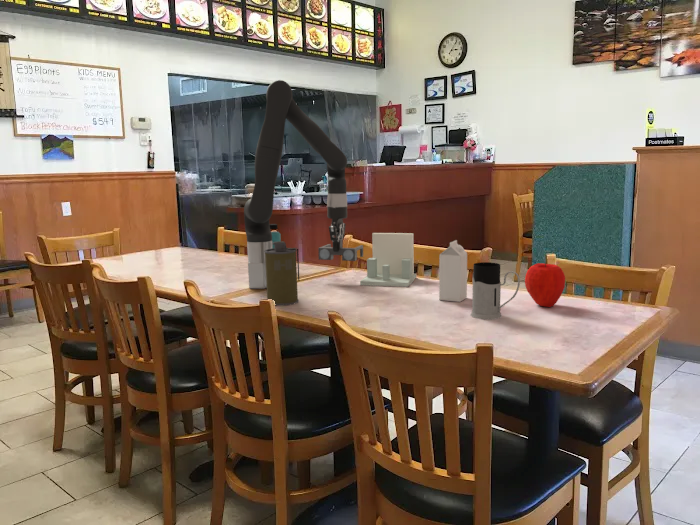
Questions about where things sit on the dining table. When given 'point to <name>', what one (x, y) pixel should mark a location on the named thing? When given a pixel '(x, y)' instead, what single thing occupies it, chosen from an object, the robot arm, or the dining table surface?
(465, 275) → the milk carton
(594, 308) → the dining table surface
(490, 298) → the glass holder
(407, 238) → the display stand
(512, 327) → the dining table surface
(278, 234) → the beverage bottle
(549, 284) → the apple
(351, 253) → the spectacles
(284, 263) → the canister
